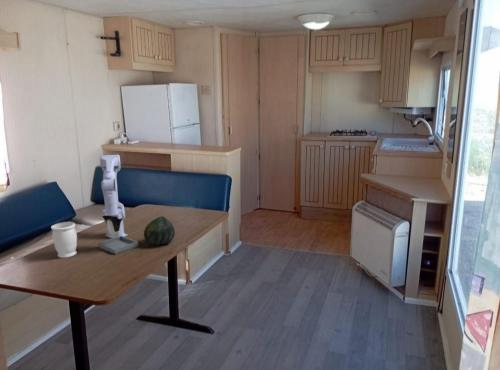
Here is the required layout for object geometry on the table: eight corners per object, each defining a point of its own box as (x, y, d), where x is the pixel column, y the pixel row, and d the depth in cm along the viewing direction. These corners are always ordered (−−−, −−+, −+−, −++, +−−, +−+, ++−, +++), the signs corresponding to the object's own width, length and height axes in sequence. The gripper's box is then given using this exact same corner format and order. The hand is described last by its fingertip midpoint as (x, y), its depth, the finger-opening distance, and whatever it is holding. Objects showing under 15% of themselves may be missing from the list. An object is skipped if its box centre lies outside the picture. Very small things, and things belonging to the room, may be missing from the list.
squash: (138, 231, 206) (144, 214, 196) (164, 225, 215) (172, 209, 205) (147, 254, 199) (154, 238, 189) (174, 248, 208) (182, 232, 198)
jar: (83, 251, 194) (80, 222, 191) (68, 260, 185) (63, 229, 181) (66, 249, 198) (62, 220, 194) (50, 257, 188) (45, 227, 185)
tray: (98, 247, 199) (98, 242, 199) (121, 240, 209) (121, 235, 208) (115, 254, 190) (114, 249, 189) (138, 246, 199) (137, 241, 199)
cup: (107, 235, 196) (104, 219, 194) (116, 232, 200) (114, 217, 198) (112, 237, 193) (110, 221, 191) (121, 234, 197) (119, 218, 195)
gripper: (95, 202, 195) (98, 229, 198) (111, 207, 185) (114, 235, 189) (108, 199, 200) (111, 225, 203) (124, 204, 191) (127, 231, 194)
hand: (113, 230), depth 196 cm, fingers closed on cup, 5 cm apart
